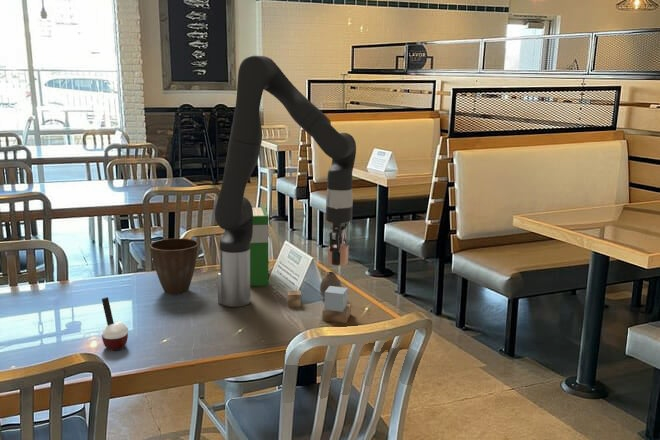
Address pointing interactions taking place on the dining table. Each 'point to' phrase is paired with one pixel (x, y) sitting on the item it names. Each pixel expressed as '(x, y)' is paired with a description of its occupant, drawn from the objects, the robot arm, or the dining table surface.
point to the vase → (329, 282)
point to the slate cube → (336, 298)
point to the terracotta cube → (342, 255)
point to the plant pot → (174, 263)
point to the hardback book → (259, 248)
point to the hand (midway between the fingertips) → (337, 261)
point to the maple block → (293, 298)
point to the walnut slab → (337, 315)
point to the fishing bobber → (113, 330)
